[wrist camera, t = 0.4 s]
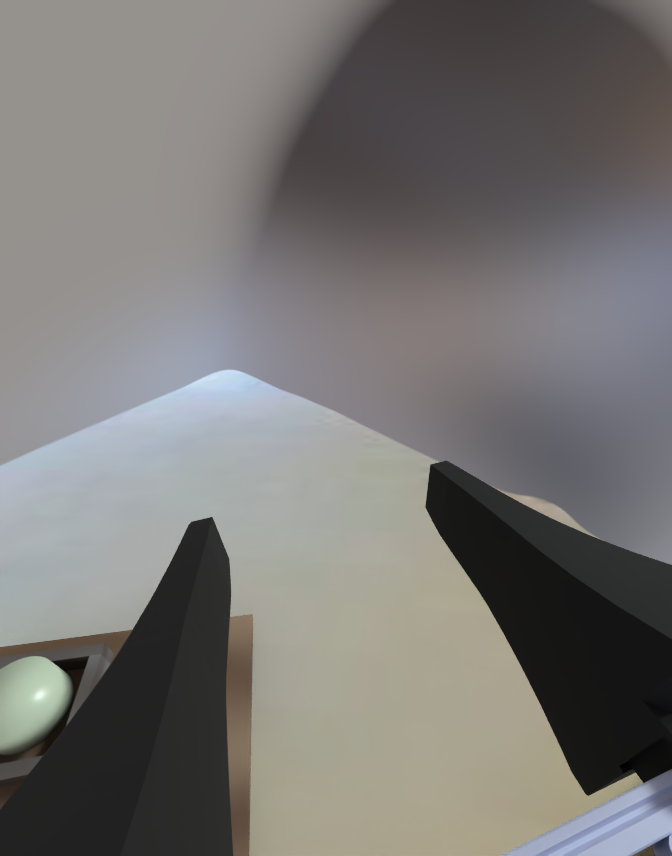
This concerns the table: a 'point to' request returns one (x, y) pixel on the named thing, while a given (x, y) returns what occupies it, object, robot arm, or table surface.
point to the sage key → (31, 702)
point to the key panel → (86, 668)
